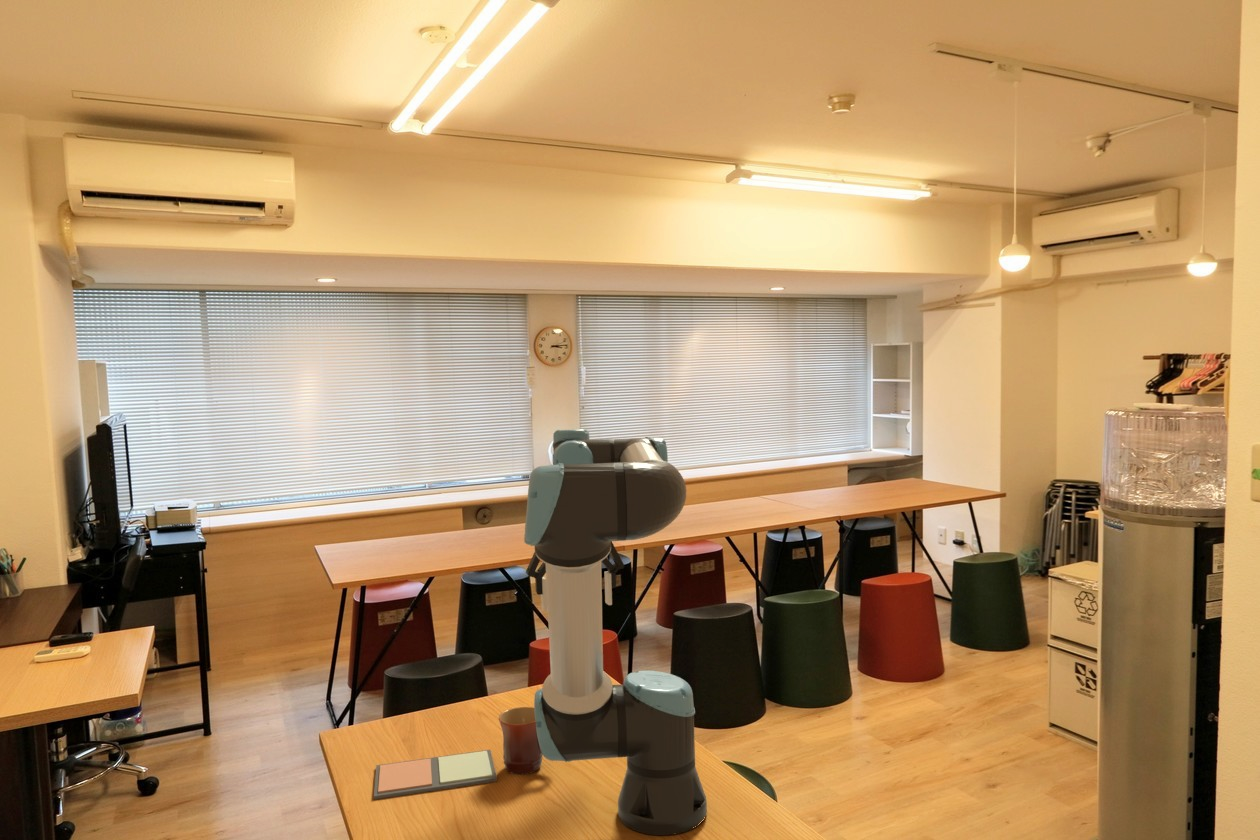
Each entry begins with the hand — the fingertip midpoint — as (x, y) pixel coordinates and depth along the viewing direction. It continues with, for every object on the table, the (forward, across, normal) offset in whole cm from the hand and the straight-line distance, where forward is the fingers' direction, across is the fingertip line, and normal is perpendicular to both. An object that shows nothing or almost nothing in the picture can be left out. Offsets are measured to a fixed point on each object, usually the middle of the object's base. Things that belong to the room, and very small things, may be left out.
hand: (576, 607), depth 173 cm
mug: (+28, +12, +9) cm, 32 cm away
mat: (+28, +30, +5) cm, 41 cm away
